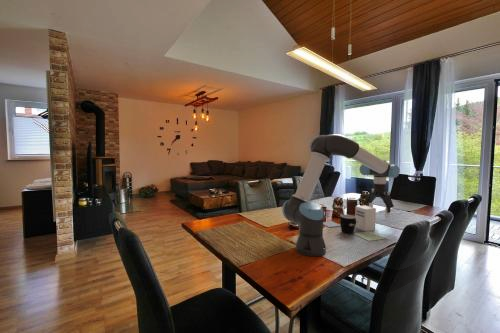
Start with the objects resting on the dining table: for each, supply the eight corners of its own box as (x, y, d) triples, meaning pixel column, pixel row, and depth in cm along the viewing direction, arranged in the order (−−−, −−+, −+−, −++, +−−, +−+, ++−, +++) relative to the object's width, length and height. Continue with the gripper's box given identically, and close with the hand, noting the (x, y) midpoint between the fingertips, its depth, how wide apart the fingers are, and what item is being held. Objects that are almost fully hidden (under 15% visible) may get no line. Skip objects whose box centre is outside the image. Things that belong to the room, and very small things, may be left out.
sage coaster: (368, 241, 133) (368, 240, 133) (353, 234, 144) (353, 233, 144) (385, 238, 136) (385, 238, 136) (369, 232, 148) (369, 231, 148)
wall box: (364, 231, 150) (365, 209, 149) (354, 226, 158) (355, 206, 157) (375, 229, 152) (376, 208, 151) (365, 225, 161) (365, 205, 160)
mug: (348, 235, 141) (349, 219, 141) (336, 231, 149) (337, 215, 149) (361, 232, 147) (362, 216, 146) (349, 228, 155) (349, 213, 154)
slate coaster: (328, 227, 157) (328, 226, 157) (320, 223, 166) (320, 222, 166) (341, 226, 160) (341, 225, 159) (332, 221, 169) (332, 221, 169)
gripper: (401, 185, 146) (399, 219, 147) (369, 180, 170) (368, 209, 171) (391, 186, 144) (390, 220, 145) (361, 181, 167) (360, 210, 169)
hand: (378, 214), depth 158 cm, fingers open, 13 cm apart
